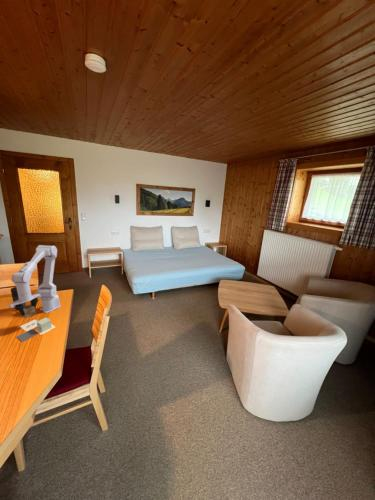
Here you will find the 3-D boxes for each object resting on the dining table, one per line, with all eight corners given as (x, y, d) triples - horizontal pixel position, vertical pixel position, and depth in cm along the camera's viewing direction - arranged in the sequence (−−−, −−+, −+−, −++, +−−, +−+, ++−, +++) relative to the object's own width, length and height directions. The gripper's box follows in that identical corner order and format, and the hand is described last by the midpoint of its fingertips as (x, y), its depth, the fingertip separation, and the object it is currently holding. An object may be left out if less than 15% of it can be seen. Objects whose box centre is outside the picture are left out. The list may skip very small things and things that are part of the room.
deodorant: (28, 306, 136) (24, 287, 131) (18, 311, 130) (14, 291, 126) (22, 304, 137) (18, 285, 133) (12, 309, 132) (8, 289, 128)
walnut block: (31, 311, 119) (30, 304, 118) (35, 314, 117) (34, 306, 116) (21, 315, 115) (20, 308, 114) (26, 318, 113) (24, 311, 111)
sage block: (47, 324, 120) (46, 317, 118) (51, 327, 117) (50, 320, 116) (37, 329, 115) (36, 321, 114) (42, 332, 113) (41, 324, 112)
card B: (48, 322, 122) (48, 322, 122) (55, 327, 118) (55, 326, 118) (33, 329, 115) (33, 329, 115) (41, 334, 111) (40, 334, 111)
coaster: (30, 330, 114) (30, 329, 114) (37, 334, 111) (37, 334, 111) (16, 337, 109) (16, 336, 108) (22, 342, 105) (22, 341, 105)
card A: (35, 319, 123) (35, 319, 123) (41, 324, 120) (41, 323, 120) (19, 326, 117) (19, 326, 117) (26, 331, 113) (26, 331, 113)
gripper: (34, 285, 120) (38, 304, 124) (4, 295, 107) (9, 316, 111) (41, 288, 117) (44, 308, 121) (11, 299, 104) (15, 320, 108)
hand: (28, 312), depth 116 cm, fingers closed on walnut block, 5 cm apart
